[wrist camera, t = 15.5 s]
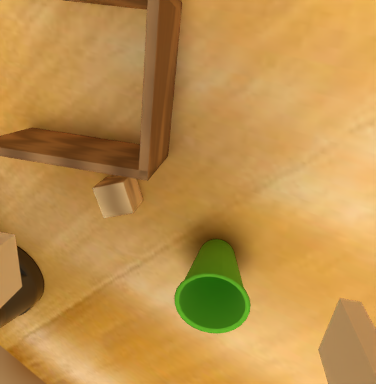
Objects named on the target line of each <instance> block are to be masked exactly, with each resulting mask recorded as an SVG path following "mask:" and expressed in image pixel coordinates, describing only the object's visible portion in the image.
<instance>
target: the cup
mask: <svg viewBox="0 0 376 384" xmlns="http://www.w3.org/2000/svg"><path fill="white" fill-rule="evenodd" d="M175 306H176V309H177V311H178V313H179V315H180V316H181V318H182V319H183V320H184V321H185V322H186V323H187V324H189V325H190V326H192V327H193V328H196V329H198V330H200V331H204V332H208V333H225V332H229V331H232V330H234V329H236V328H237V327H239V326H241V325H242V323H243V322H244V321H245V320H246V319H247V317H248V315H249V312H250V300H249V296H248V294H247V292H246V290H245V289H244V287H243V284H242V280H241V276H240V272H239V269H238V265H237V261H236V257H235V254H234V250H233V248H232V247H231V246H230V245H229V244H228V243H227V242H225V241H223V240H219V239H213V240H210V241H208V242H206V243H205V244H203V246H202V247H201V249H200V251H199V253H198V255H197V257H196V258H195V260H194V262H193V264H192V266H191V268H190V270H189V272H188V274H187V276H186V278H185V280H184V281H183V282H181V284H180V285H179V286H178V288H177V290H176V293H175Z"/></svg>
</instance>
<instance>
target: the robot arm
mask: <svg viewBox="0 0 376 384" xmlns="http://www.w3.org/2000/svg"><path fill="white" fill-rule="evenodd" d="M43 289H44V283H43V278H42V275H41V272H40V270H39V268H38V267H37V265H36V264H35V262H34V261H33V260H32V259H31V258H30V257H29V256H28V255H27V254H26V253H25V252H24V251H22V250H21V249H19V248H18V247H17V245H16V238H15V235H14V234H9V233H4V232H0V328H1V327H2V326H4V325H5V324H7V323H8V322H10V321H11V320H13V319H15V318H16V317H17V316H20V315H22V314H24V313H26V312H27V311H29V310H30V309H31V308H32V307H33V306H34V305H35V304H36V302H37V301H38V300H39V299H40V298H41V296H42V293H43ZM318 350H319V354H320V357H321V361H322V364H323V367H324V371H325V374H326V377H327V381H328V384H376V329H375V327H374V325H373V323H372V321H371V319H370V318H369V316H368V314H367V312H366V310H365V308H364V307H363V305H362V303H361V302H358V301H353V300H348V299H343V298H340V299H339V301H338V303H337V306H336V308H335V311H334V313H333V315H332V318H331V320H330V323H329V325H328V328H327V330H326V332H325V335H324V337H323V340H322V342H321V344H320V347H319V349H318Z"/></svg>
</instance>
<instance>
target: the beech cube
mask: <svg viewBox="0 0 376 384" xmlns="http://www.w3.org/2000/svg"><path fill="white" fill-rule="evenodd" d="M92 189H93V192H94V194H95V197H96V199H97V202H98V205H99V207H100V210H101V212H102V215H103V218H108V217H114V216H120V215H126V214H132V213H134V212H135V211H136V209H137V208H138V207H139V205H140V204H141V202H142V201H143V198H142V194H141V191H140V188H139V185H138V182H137V179H135V178H129V177H123V176H117V175H115V176H111V177H106V178H105V179H103V180H102V181H101V182H100V183H98V184H97V185H96V186H94V187H93V188H92Z"/></svg>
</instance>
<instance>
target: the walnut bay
mask: <svg viewBox="0 0 376 384" xmlns="http://www.w3.org/2000/svg"><path fill="white" fill-rule="evenodd" d="M65 1H75V2H84V3H93V4H102V5H112V6H121V7H130V8H139V9H147V24H146V43H145V62H144V81H143V100H142V119H141V139H140V144H133V143H127V142H121V141H114V140H108V139H101V138H95V137H88V136H82V135H76V134H69V133H63V132H56V131H50V130H43V129H37V128H29V129H25V130H21V131H17V132H14V133H10V134H6V135H2V136H0V156H4V157H9V158H15V159H21V160H27V161H33V162H39V163H45V164H51V165H57V166H63V167H69V168H75V169H81V170H87V171H93V172H99V173H105V174H111V175H117V176H123V177H129V178H135V179H141V180H147V181H148V179H149V178H150V177H151V176H152V175H153V173H154V172H155V171H156V170H157V169H158V167H159V166H160V165H161V164H162V163H163V161H164V160H165V159H166V158H167V157H168V150H169V139H170V128H171V118H172V107H173V96H174V85H175V74H176V63H177V52H178V42H179V31H180V20H181V9H182V2H181V1H180V0H65Z"/></svg>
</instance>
